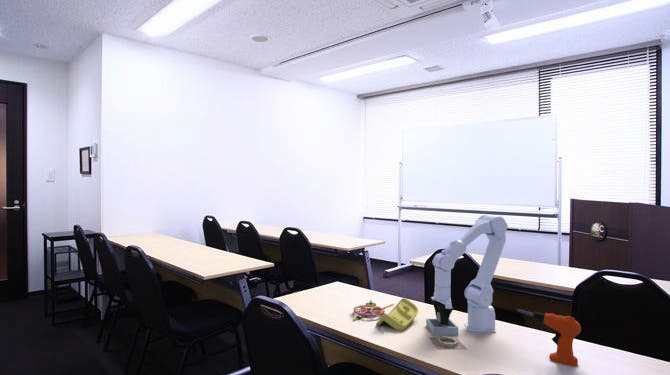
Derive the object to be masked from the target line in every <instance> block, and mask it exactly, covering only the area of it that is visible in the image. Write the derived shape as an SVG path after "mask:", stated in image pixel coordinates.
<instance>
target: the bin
mask: <svg viewBox="0 0 670 375" xmlns="http://www.w3.org/2000/svg"><path fill="white" fill-rule="evenodd" d="M425 319H426V321H425V322H426V323H425V324H426V325H425V326H426V327H427V329H428V330H429V332H430V333H431V334H432V335H433V336H459V327H458V325H457V324H456V323H455V322H454V321H453V320H451V318H449V320H448V327H437V318H425Z"/></svg>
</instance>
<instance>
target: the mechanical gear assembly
mask: <svg viewBox="0 0 670 375" xmlns="http://www.w3.org/2000/svg"><path fill="white" fill-rule="evenodd" d="M394 305H395V304H394V303H391V304H389V305H386V306H384V307H382V306H377V304H376V302H373V300H372V299H369V302H366V303H365V304H363V305H356V306H354V307H353V313H355V314H356V318H354V319H352V322H355V321H358V320H359V321H360V320H361V319H363V318H365V317H378V316H379V317H381V316H382V315H383V314H385V309H387V308H389V307H392V306H394ZM359 311H360V312H359Z"/></svg>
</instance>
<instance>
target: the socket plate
mask: <svg viewBox="0 0 670 375" xmlns="http://www.w3.org/2000/svg"><path fill="white" fill-rule="evenodd" d="M428 339H429V340H430V341H431V343H432V344H433V345H434V346H435V348H436V349H437V350H464V351H465V350H468V349H467V347H466V346H465V345H464V344H463V343H462V341H460V340H459V338H457V337H451V336H449V335H440V336H439V337H436V336H430V337H428Z"/></svg>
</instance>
